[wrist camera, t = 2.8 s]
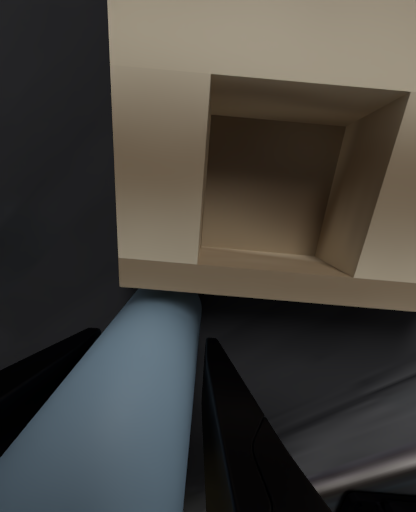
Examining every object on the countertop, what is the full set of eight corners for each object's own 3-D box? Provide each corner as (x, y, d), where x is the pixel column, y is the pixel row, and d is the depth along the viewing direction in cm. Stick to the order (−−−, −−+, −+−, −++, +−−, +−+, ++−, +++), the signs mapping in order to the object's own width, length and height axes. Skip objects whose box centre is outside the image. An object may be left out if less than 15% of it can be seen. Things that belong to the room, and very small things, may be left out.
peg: (199, 339, 11) (166, 700, 3) (133, 334, 11) (-68, 683, 3) (204, 279, 10) (174, 584, 2) (132, 273, 10) (-171, 556, 2)
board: (440, 284, 10) (538, 322, 7) (147, 259, 9) (119, 286, 7) (628, -142, 6) (1040, -479, 3) (147, -186, 6) (82, -575, 3)
